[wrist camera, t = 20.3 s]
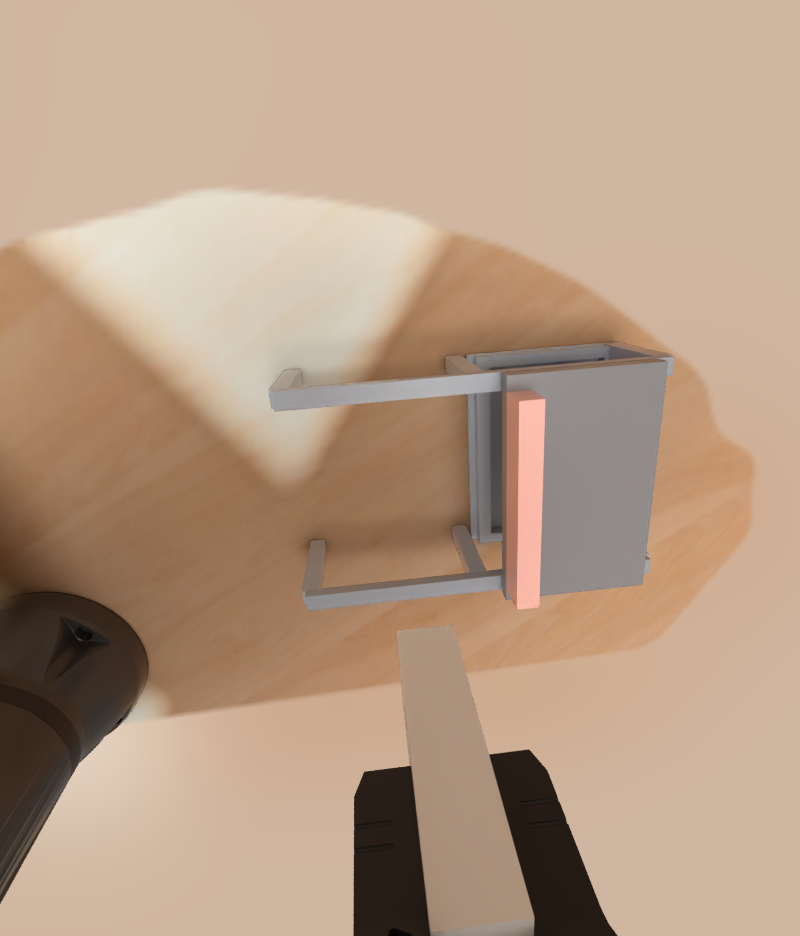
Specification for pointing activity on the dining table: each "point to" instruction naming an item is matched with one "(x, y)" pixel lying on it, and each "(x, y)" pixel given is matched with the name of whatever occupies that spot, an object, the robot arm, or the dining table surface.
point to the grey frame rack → (484, 431)
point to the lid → (578, 476)
